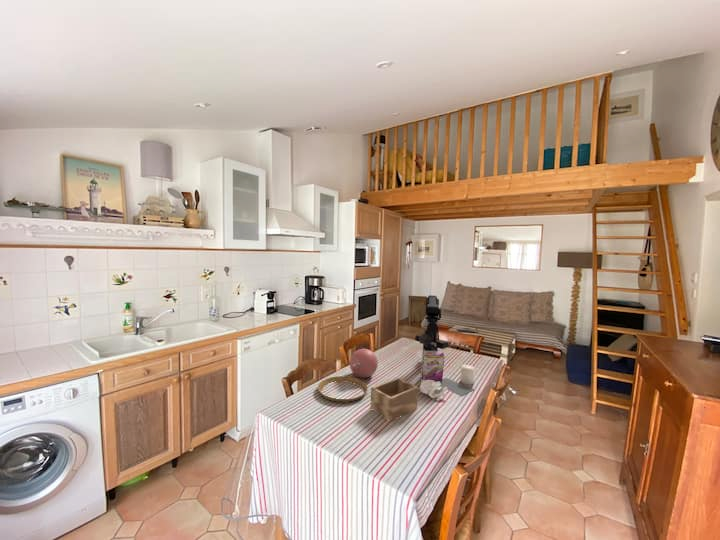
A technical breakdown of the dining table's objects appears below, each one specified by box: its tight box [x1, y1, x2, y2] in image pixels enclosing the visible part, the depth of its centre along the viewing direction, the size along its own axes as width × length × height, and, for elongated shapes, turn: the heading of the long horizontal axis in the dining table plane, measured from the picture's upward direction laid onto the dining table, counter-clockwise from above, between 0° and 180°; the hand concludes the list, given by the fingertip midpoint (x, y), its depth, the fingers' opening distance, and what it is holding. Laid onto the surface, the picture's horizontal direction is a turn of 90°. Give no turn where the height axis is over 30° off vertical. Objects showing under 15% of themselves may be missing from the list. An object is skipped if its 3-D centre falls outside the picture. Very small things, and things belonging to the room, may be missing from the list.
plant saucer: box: [317, 375, 368, 403], centre depth 146 cm, size 24×24×3 cm
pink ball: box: [349, 348, 379, 379], centre depth 162 cm, size 15×20×15 cm
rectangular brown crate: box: [370, 377, 419, 422], centre depth 131 cm, size 12×17×10 cm
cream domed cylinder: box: [459, 364, 476, 385], centre depth 162 cm, size 7×7×8 cm
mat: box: [436, 377, 475, 397], centre depth 154 cm, size 17×16×1 cm
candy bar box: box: [420, 349, 445, 382], centre depth 161 cm, size 11×5×16 cm, turn 84°
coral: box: [418, 379, 448, 402], centre depth 145 cm, size 12×7×12 cm
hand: (430, 356), depth 164 cm, fingers closed
